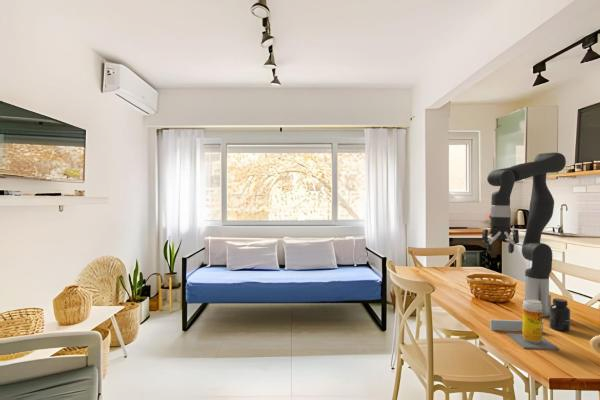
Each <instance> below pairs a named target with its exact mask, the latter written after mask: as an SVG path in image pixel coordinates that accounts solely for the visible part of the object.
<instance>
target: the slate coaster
mask: <svg viewBox="0 0 600 400" xmlns="http://www.w3.org/2000/svg"><path fill="white" fill-rule="evenodd" d="M506 336H508V337H509V338H510V339H511V340H513V341H514V342H515V343H516V344H518V345H519V346H520V347H521V348H523V349H525V350H526V349H528V350H547V351H548V350H549V351H560V347H558V346H557V345H555V344H553V342H551V341H549V340H548V339H547V338H545V337H544V336H542V341H541V342H540V343H531V342H528V341H526V340H524V338H523V337H522V333H508V332H507V333H506Z"/></svg>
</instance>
